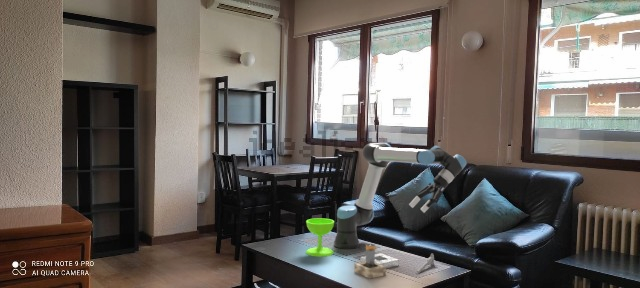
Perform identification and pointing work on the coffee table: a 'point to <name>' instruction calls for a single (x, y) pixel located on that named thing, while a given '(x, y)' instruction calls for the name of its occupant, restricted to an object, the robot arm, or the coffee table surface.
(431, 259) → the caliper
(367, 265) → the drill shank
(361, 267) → the tan open tray
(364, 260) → the socket block
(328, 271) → the coffee table surface
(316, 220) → the wineglass
